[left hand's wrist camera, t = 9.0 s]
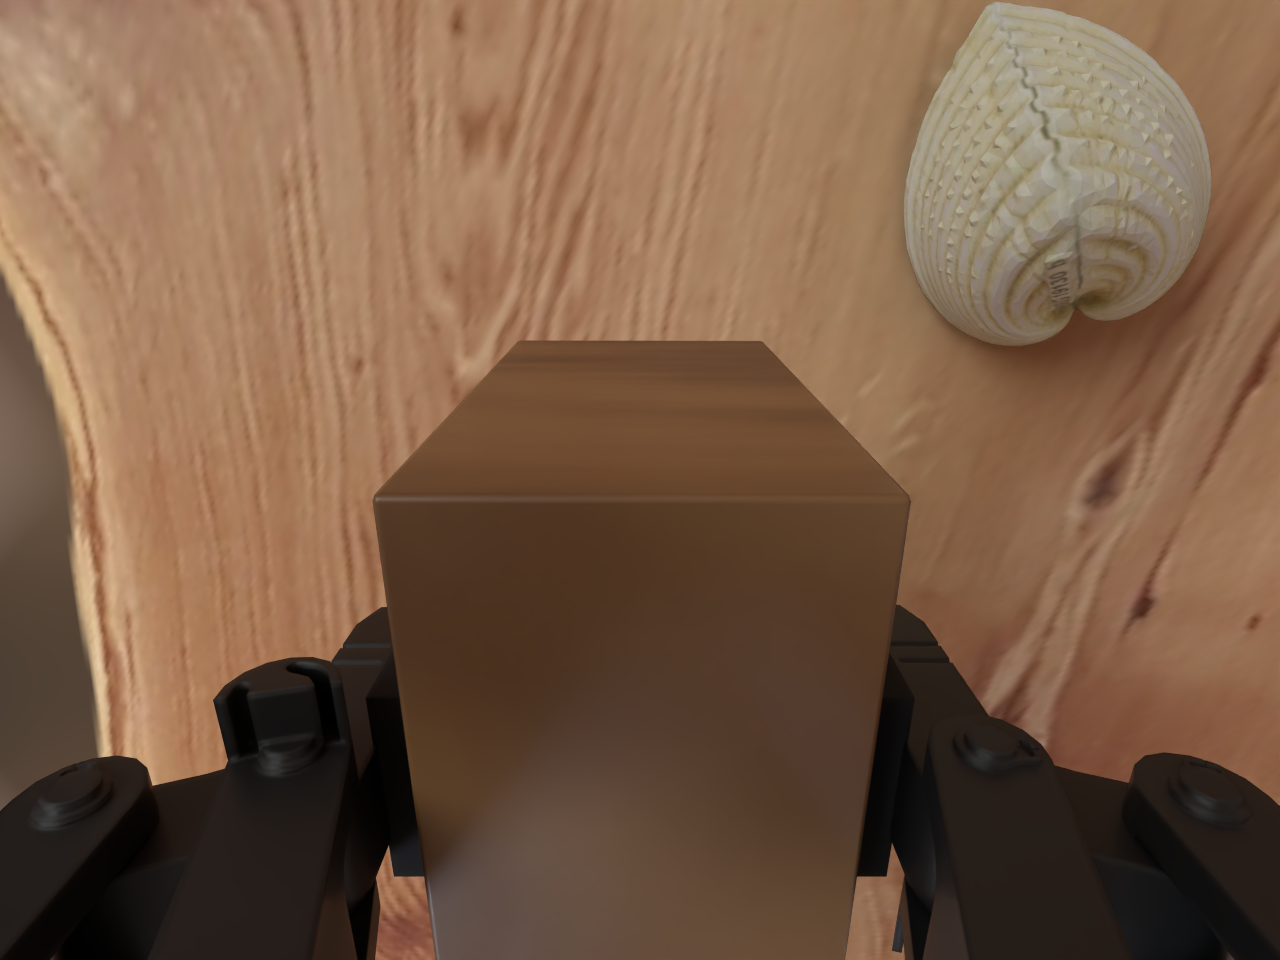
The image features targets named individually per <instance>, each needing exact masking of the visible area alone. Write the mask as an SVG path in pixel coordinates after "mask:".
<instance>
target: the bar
mask: <svg viewBox="0 0 1280 960" xmlns="http://www.w3.org/2000/svg"><path fill="white" fill-rule="evenodd" d="M910 503H911V500H910V497H909V495H908V494H907V493H906V492H905V491H904V490H903V489H902V488H901V487H900V486H899V485H898V484H897V483H896V481H895V480H894V479H893V478H892V477H891V476H890V475H889V474H888V473H887V472H886V471H885V470H884V469H883V468H882V467H881V466H880V465H879V464H878V463H877V462H876V460H875V459H874V458H873V457H872V456H871V455H870V454H869V453H868V452H867V451H866V450H865V449H864V448H863V447H862V446H861V445H860V444H859V443H858V442H857V441H856V439H855V438H854V437H853V436H852V435H851V434H850V433H849V432H848V431H847V430H846V429H845V428H844V427H843V426H842V425H841V424H840V423H839V422H838V421H837V419H836V418H835V417H834V416H833V415H832V414H831V413H830V412H829V411H828V410H827V409H826V408H825V407H824V406H823V405H822V404H821V403H820V402H819V401H818V400H817V398H816V397H815V396H814V395H813V394H812V393H811V392H810V391H809V390H808V389H807V388H806V387H805V386H804V385H803V384H802V383H801V382H800V381H799V380H798V379H797V377H796V376H795V375H794V374H793V373H792V372H791V371H790V370H789V369H788V368H787V367H786V366H785V365H784V364H783V363H782V362H781V361H780V360H779V359H778V358H777V356H776V355H775V354H774V353H773V352H772V351H771V350H770V349H769V348H768V347H767V346H766V345H765V344H764V343H763V342H761V341H518V342H517V343H516V344H515V345H514V346H513V347H512V348H511V350H510V351H509V352H508V353H507V354H506V355H505V356H504V357H503V358H502V359H501V360H500V361H499V362H498V363H497V364H496V366H495V367H494V368H493V369H492V370H491V371H490V372H489V373H488V374H487V375H486V376H485V377H484V378H483V379H482V381H481V382H480V383H479V384H478V385H477V386H476V387H475V388H474V389H473V390H472V391H471V392H470V393H469V394H468V395H467V397H466V398H465V399H464V400H463V401H462V402H461V403H460V404H459V405H458V406H457V407H456V408H455V409H454V410H453V411H452V413H451V414H450V415H449V416H448V417H447V418H446V419H445V420H444V421H443V422H442V423H441V424H440V425H439V426H438V428H437V429H436V430H435V431H434V432H433V433H432V434H431V435H430V436H429V437H428V438H427V439H426V440H425V441H424V442H423V444H422V445H421V446H420V447H419V448H418V449H417V450H416V451H415V452H414V453H413V454H412V455H411V456H410V457H409V459H408V460H407V461H406V462H405V463H404V464H403V465H402V466H401V467H400V468H399V469H398V470H397V471H396V472H395V473H394V475H393V476H392V477H391V478H390V479H389V480H388V481H387V482H386V483H385V484H384V485H383V486H382V487H381V488H380V489H379V491H378V492H377V493H376V494H375V495H374V498H373V507H374V514H375V521H376V529H377V536H378V543H379V550H380V558H381V565H382V572H383V580H384V587H385V594H386V601H387V609H388V616H389V623H390V631H391V638H392V645H393V652H394V660H395V667H396V674H397V681H398V689H399V696H400V703H401V711H402V718H403V725H404V732H405V740H406V747H407V754H408V762H409V769H410V776H411V783H412V791H413V798H414V805H415V812H416V820H417V827H418V834H419V842H420V849H421V856H422V863H423V871H424V878H425V885H426V893H427V900H428V907H429V914H430V922H431V929H432V936H433V943H434V951H435V958H436V960H845V956H846V949H847V942H848V935H849V928H850V921H851V914H852V907H853V900H854V893H855V886H856V879H857V872H858V865H859V858H860V851H861V844H862V837H863V830H864V823H865V816H866V810H867V803H868V796H869V789H870V782H871V775H872V768H873V761H874V754H875V747H876V740H877V733H878V726H879V719H880V712H881V705H882V698H883V691H884V684H885V677H886V670H887V663H888V656H889V649H890V642H891V635H892V629H893V622H894V615H895V608H896V601H897V594H898V587H899V580H900V573H901V566H902V559H903V552H904V545H905V538H906V531H907V524H908V517H909V510H910Z"/></svg>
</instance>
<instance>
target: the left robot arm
mask: <svg viewBox="0 0 1280 960" xmlns="http://www.w3.org/2000/svg"><path fill="white" fill-rule="evenodd" d="M213 701H214V705H215V710H216V714H217V718H218V722H219V726H220V730H221V734H222V738H223V742H224V746H225V750H226V754H227V758H228V762H227V765H226V767H225V769H222V770H219V771H215V772H212V773H208V774H204V775H200V776H195V777H191V778H186V779H182V780H177V781H173V782H168V783H164V784H159V785H155V786H152V782H151V779H150V776H149V772H148V769H147V767H146V766H144V765H143V764H142V763H141V762H140V761H139V760H137V759H135V758H129V757H123V756H110V757H102V758H94V759H89V760H86V761H83V762H80V763H77V764H73V765H70V766H67V767H65V768H62V769H60V770H59V771H56V772H55V773H53V774H51V775H49V776H47V777H45V778H43V779H41V780H39V781H37V782H35V783H34V784H33V785H31V786H30V787H29V788H27V789H26V790H25V791H23V792H22V793H21V794H19V795H18V796H17V797H15V798H14V799H13V800H12V801H10V802H9V803H8V804H7V805H6V806H5V807H4V808H3V809H2V810H1V811H0V960H375V953H376V944H377V934H378V924H379V915H380V900H379V893H378V887H377V881H376V876H377V873H378V871H379V868H380V866H381V863H382V861H383V858H384V856H385V853H386V851H387V848H388V845H389V848H390V854H391V861H392V867H393V873H394V876H424V871H423V863H422V856H421V849H420V842H419V834H418V827H417V820H416V812H415V805H414V798H413V791H412V783H411V776H410V769H409V762H408V754H407V747H406V740H405V732H404V725H403V718H402V711H401V703H400V696H399V689H398V681H397V674H396V667H395V660H394V652H393V645H392V638H391V631H390V623H389V616H388V609H387V607H381V608H380V609H378V610H377V611H375V612H374V613H372V614H371V615H370V616H368V617H367V618H365V619H364V620H362V621H361V622H359V623H358V624H357V625H356V626H355V628H354V629H353V631H352V632H351V634H350V635H349V636H348V638H347V639H346V641H345V642H344V644H343V648H340V650H339V651H338V652H337V654H336V655H335V657H334V658H333V660H332V663H331V662H330V661H326V660H322V659H318V658H314V657H297V658H287V659H282V660H278V661H274V662H269V663H266V664H263V665H261V666H258V667H256V668H254V669H251V670H249V671H247V672H244V673H243V674H241V675H240V676H238V677H237V678H235V679H234V680H232V681H231V682H229V683H228V684H226V685H225V686H224V687H223V688H222V690H221V691H220V692H219V693H218V695H217V696H216V697H215V698H214V700H213ZM892 843H893V846H894V848H895V851H896V853H897V856H898V858H899V861H900V863H901V866H902V868H903V871H904V873H905V875H904V881H903V887H902V893H901V899H900V904H899V910H898V916H897V922H896V928H895V934H894V940H893V947H892V951H896V952H900V953H902V947H903V942H904V952H905V960H1280V806H1279V805H1278V804H1277V803H1276V802H1275V801H1274V800H1273V799H1272V798H1271V797H1269V796H1268V795H1267V794H1265V793H1264V792H1263V791H1261V790H1260V789H1259V788H1257V787H1256V786H1255V785H1253V784H1252V783H1251V782H1249V781H1248V780H1247V779H1245V778H1243V777H1241V776H1239V775H1237V774H1235V773H1233V772H1231V771H1229V770H1227V769H1225V768H1223V767H1222V766H1220V765H1217V764H1215V763H1212V762H1209V761H1205V760H1202V759H1199V758H1195V757H1192V756H1188V755H1180V754H1172V753H1159V754H1152V755H1146V756H1144V757H1143V758H1142V759H1141V760H1139V761H1138V762H1137V763H1136V764H1135V765H1134V768H1133V771H1132V774H1131V778H1130V781H1129V783H1126V782H1122V781H1117V780H1113V779H1108V778H1104V777H1099V776H1094V775H1090V774H1085V773H1081V772H1076V771H1072V770H1069V769H1066V768H1062V767H1059V766H1055V765H1054V764H1053V761H1052V759H1051V758H1050V756H1049V755H1048V753H1047V752H1046V751H1045V749H1044V748H1043V746H1042V745H1041V744H1040V743H1039V742H1038V741H1036V740H1035V739H1034V738H1033V737H1031V736H1030V735H1029V734H1027V733H1026V732H1025V731H1024V730H1022V729H1020V728H1018V727H1016V726H1013V725H1011V724H1009V723H1007V722H1005V721H1003V720H1001V719H997V718H993V717H989V715H988V714H987V712H986V711H985V710H984V708H983V707H982V705H981V704H980V702H979V701H978V699H977V698H976V697H975V695H974V694H973V692H972V691H971V689H970V688H969V686H968V685H967V684H966V682H965V681H964V679H963V678H962V676H961V675H960V673H959V672H958V671H957V669H956V668H955V666H954V665H953V663H950V662H949V658H948V656H947V655H946V653H945V652H944V650H943V649H942V647H941V646H938V642H937V640H936V639H935V637H934V636H933V634H932V633H931V631H930V630H929V629H928V627H927V626H926V624H925V623H924V622H923V621H922V620H920V619H919V618H917V617H916V616H914V615H913V614H912V613H910V612H909V611H907V610H906V609H904V608H903V607H902V606H900V605H896V608H895V615H894V622H893V629H892V635H891V642H890V649H889V656H888V663H887V670H886V677H885V684H884V691H883V698H882V705H881V712H880V719H879V726H878V733H877V740H876V747H875V754H874V761H873V768H872V775H871V782H870V789H869V796H868V803H867V810H866V816H865V823H864V830H863V837H862V844H861V851H860V858H859V865H858V872H857V876H887V870H888V864H889V857H890V851H891V845H892Z"/></svg>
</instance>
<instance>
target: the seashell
mask: <svg viewBox="0 0 1280 960" xmlns="http://www.w3.org/2000/svg"><path fill="white" fill-rule="evenodd" d="M1211 189H1212V181H1211V169H1210V161H1209V154H1208V149H1207V144H1206V139H1205V135H1204V132H1203V129H1202V127H1201V124H1200V121H1199V119H1198V117H1197V115H1196V113H1195V111H1194V109H1193V107H1192V106H1191V104H1190V102H1189V101H1188V99H1187V97H1186V95H1185V94H1184V92H1183V91H1182V89H1181V88H1180V87H1179V85H1178V84H1177V82H1176V81H1175V80H1174V79H1173V78H1172V77H1171V76H1170V75H1169V74H1168V73H1167V72H1166V71H1165V70H1164V69H1163V68H1162V67H1161V66H1160V65H1159V64H1158V63H1157V62H1156V61H1155V60H1154V59H1153V58H1152V57H1150V56H1149V55H1148V54H1147V53H1146V52H1145V51H1143V50H1142V49H1140V48H1139V47H1137V46H1136V45H1134V44H1133V43H1131V42H1130V41H1129V40H1127V39H1126V38H1124V37H1123V36H1121V35H1119V34H1117V33H1115V32H1113V31H1111V30H1109V29H1107V28H1105V27H1102V26H1100V25H1097V24H1095V23H1093V22H1091V21H1088V20H1086V19H1084V18H1081V17H1076V16H1072V15H1069V14H1066V13H1064V12H1061V11H1057V10H1052V9H1046V8H1039V7H1032V6H1021V5H1016V4H1012V3H1003V2H993V3H991V4H989V5H988V6H986V8H985V9H984V11H983V12H982V14H981V16H980V17H979V19H978V21H977V22H976V24H975V26H974V27H973V29H972V31H971V32H970V34H969V36H968V38H967V39H966V41H965V43H964V44H963V45H962V46H961V48H960V49H959V50H958V51H957V53H956V56H955V59H954V62H953V64H952V67H951V68H950V70H949V71H948V73H947V74H946V76H945V77H944V79H943V81H942V83H941V85H940V87H939V88H938V90H937V91H936V93H935V95H934V97H933V99H932V101H931V104H930V106H929V108H928V110H927V112H926V114H925V117H924V119H923V122H922V125H921V128H920V131H919V134H918V137H917V141H916V145H915V149H914V151H913V154H912V157H911V162H910V167H909V171H908V175H907V179H906V185H905V195H904V224H905V236H906V245H907V251H908V254H909V257H910V261H911V264H912V267H913V270H914V273H915V275H916V278H917V280H918V282H919V284H920V286H921V288H922V290H923V292H924V294H925V295H926V297H927V298H928V299H929V301H930V302H931V303H932V304H933V306H934V307H935V308H936V310H937V311H938V312H939V313H940V314H941V315H942V316H943V317H944V318H945V319H946V320H947V321H948V322H950V323H951V324H952V325H954V326H955V327H956V328H958V329H959V330H961V331H963V332H964V333H966V334H968V335H970V336H972V337H974V338H977V339H979V340H981V341H984V342H988V343H991V344H995V345H1002V346H1024V345H1029V344H1034V343H1039V342H1041V341H1044V340H1047V339H1049V338H1051V337H1053V336H1054V335H1056V334H1058V333H1059V332H1060V331H1061V330H1062V329H1063V328H1064V327H1066V325H1067V324H1068V322H1069V321H1070V319H1071V316H1072V314H1073V312H1074V310H1075V309H1076V308H1077V309H1079V310H1080V311H1081V312H1082V313H1083V314H1084V315H1086V316H1087V317H1089V318H1091V319H1095V320H1102V321H1110V320H1119V319H1122V318H1125V317H1128V316H1131V315H1133V314H1135V313H1137V312H1139V311H1141V310H1143V309H1145V308H1146V307H1148V306H1149V305H1151V304H1152V303H1154V302H1155V301H1157V300H1158V299H1159V298H1160V297H1161V296H1163V295H1164V294H1165V293H1166V292H1167V291H1168V290H1169V289H1170V288H1171V287H1172V286H1173V285H1174V284H1175V282H1176V281H1177V280H1178V279H1179V278H1180V276H1181V275H1182V274H1183V272H1184V271H1185V269H1186V267H1187V266H1188V264H1189V263H1190V261H1191V259H1192V257H1193V256H1194V254H1195V252H1196V250H1197V248H1198V245H1199V243H1200V240H1201V237H1202V234H1203V231H1204V228H1205V224H1206V220H1207V216H1208V210H1209V204H1210V197H1211Z"/></svg>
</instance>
